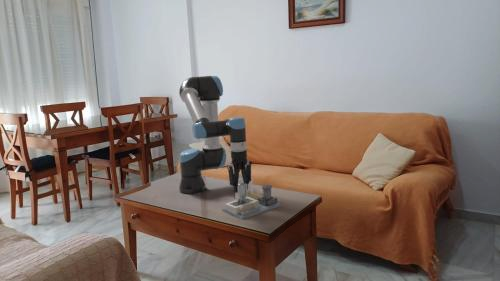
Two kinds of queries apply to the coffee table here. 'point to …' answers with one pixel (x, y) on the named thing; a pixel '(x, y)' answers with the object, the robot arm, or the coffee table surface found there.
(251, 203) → the plate
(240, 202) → the pin
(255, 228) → the coffee table surface
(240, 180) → the mug
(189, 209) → the coffee table surface
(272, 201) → the ring lever
